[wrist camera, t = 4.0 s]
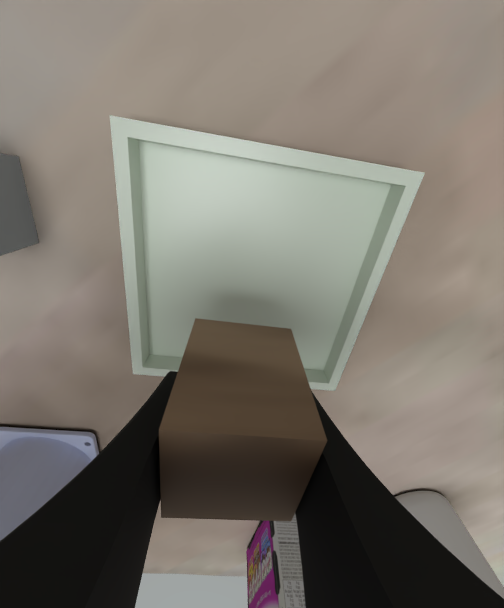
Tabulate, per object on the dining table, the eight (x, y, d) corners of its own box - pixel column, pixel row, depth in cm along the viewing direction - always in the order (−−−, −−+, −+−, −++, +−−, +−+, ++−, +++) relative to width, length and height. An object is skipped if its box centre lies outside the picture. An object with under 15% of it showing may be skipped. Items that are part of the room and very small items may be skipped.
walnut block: (273, 396, 12) (291, 521, 8) (191, 389, 12) (161, 517, 7) (291, 328, 10) (327, 440, 6) (195, 318, 10) (158, 430, 6)
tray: (327, 372, 18) (334, 390, 17) (142, 356, 17) (133, 373, 15) (402, 173, 12) (424, 172, 11) (128, 123, 11) (109, 115, 9)
